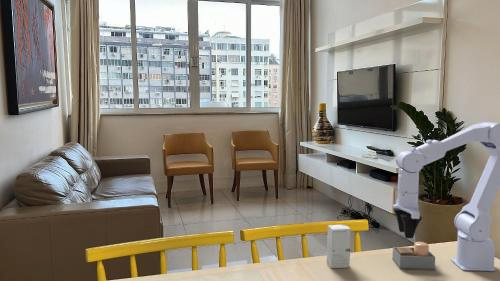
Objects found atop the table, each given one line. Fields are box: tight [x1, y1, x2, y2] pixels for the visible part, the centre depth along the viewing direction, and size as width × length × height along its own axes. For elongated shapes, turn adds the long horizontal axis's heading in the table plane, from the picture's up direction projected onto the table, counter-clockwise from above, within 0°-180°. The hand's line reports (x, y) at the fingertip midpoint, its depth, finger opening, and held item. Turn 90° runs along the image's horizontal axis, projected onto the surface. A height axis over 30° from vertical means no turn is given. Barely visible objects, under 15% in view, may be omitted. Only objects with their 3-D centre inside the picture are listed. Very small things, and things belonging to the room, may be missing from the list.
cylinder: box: [413, 241, 430, 256], centre depth 116 cm, size 4×4×6 cm
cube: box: [396, 247, 414, 256], centre depth 116 cm, size 4×4×4 cm
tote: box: [391, 246, 436, 271], centre depth 116 cm, size 10×7×4 cm
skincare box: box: [326, 224, 352, 269], centre depth 115 cm, size 6×4×12 cm
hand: (406, 234), depth 115 cm, fingers open, 5 cm apart
